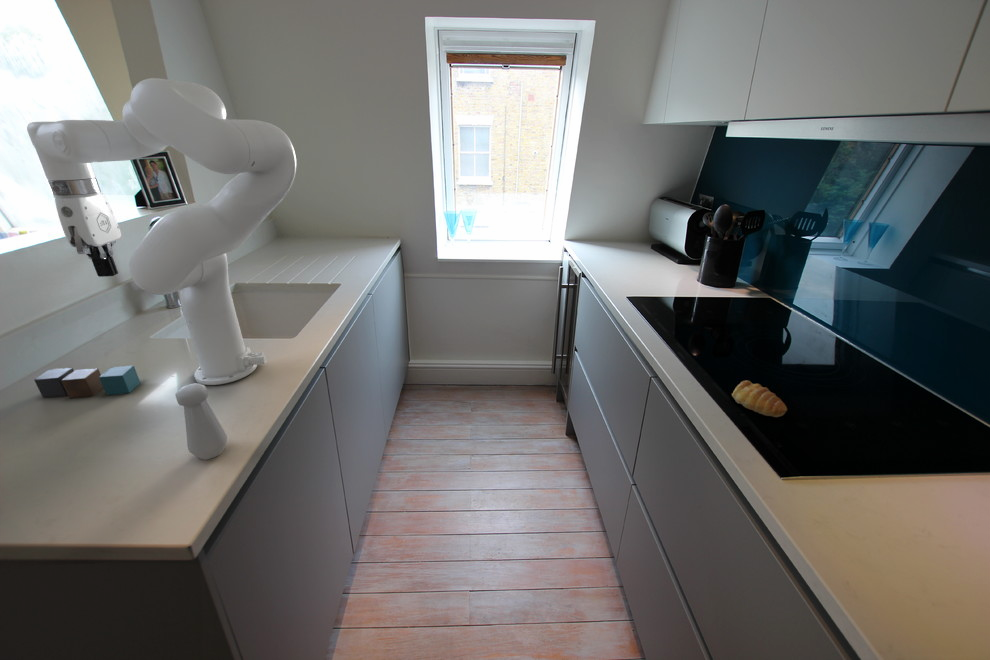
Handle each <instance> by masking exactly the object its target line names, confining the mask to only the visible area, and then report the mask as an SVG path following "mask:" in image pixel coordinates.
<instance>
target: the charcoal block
mask: <svg viewBox="0 0 990 660" xmlns="http://www.w3.org/2000/svg"><path fill="white" fill-rule="evenodd" d="M73 371H75V369H74V368H73V367H65V368H63V367H62V368H53V369H51V368H50V369H48V370H46V371H45V372H44V373H42V374H41V375H39V376H37V377H36V378H34V383H35V385H36V386H37V389H38V391H39V393H40V395H41V397H42V398H43V399H44V398H57V397H67V396H68V394H67V392H66V390H65V388H64V386H63V384H62V382H61V380H62V379H64V378H65V377H66V376H68V375H69V374H70V373H72V372H73Z"/></svg>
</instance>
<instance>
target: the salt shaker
mask: <svg viewBox="0 0 990 660" xmlns="http://www.w3.org/2000/svg"><path fill="white" fill-rule="evenodd" d="M208 397H209V392H208V389H207V386H206V385H205V384H201V383H198V382H197V383H190V384H186V385H184V386H182V387H180V388H179V389H178V390H177V391H176V393H175V398H176V402H177V404H178V405H179V406H181V407H183V412H184V422H185V432H186V434H185V435H186V447H187V450H188V452H189V453H191V454H192V455H193V456H194V457H196V458H197V459H198V460H205V461H209V460H211V459H214V458H216V457H219V456H220V455H221V454H222V453H223V452H224V451H225V449H226V447H227V446H226V445H227V441H228V435H227V433H226V431H225V429H224V428H223V426H222V425H221V423H220V421H219V420H218V418H217V416H216V415H215V413H214V410H213V409H212V407H211V406H210V404H209V403H208V400H207V398H208Z"/></svg>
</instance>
